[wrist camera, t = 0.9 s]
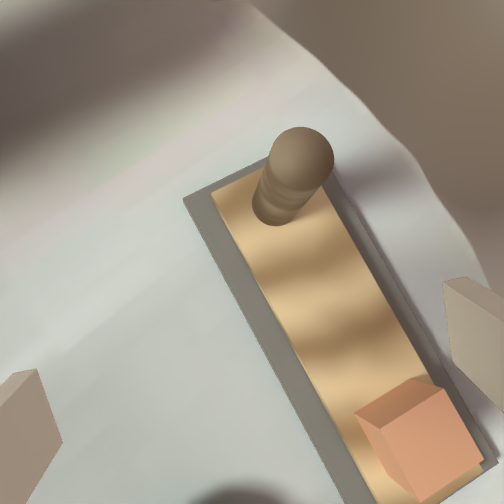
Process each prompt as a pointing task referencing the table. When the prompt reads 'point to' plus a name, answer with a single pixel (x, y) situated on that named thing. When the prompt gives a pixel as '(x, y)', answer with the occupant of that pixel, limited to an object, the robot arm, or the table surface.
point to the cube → (419, 437)
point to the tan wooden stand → (324, 295)
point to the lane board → (282, 352)
